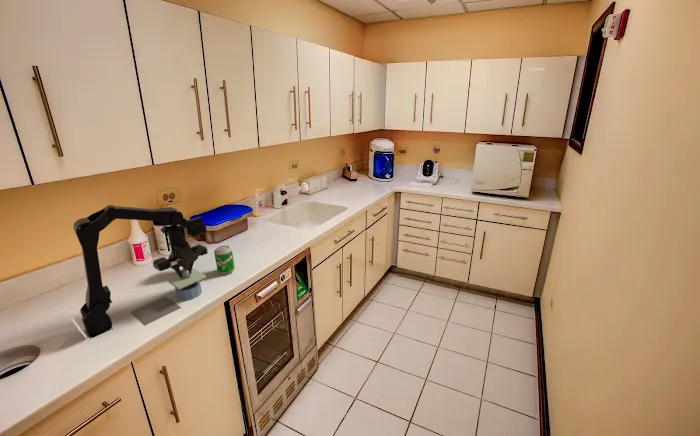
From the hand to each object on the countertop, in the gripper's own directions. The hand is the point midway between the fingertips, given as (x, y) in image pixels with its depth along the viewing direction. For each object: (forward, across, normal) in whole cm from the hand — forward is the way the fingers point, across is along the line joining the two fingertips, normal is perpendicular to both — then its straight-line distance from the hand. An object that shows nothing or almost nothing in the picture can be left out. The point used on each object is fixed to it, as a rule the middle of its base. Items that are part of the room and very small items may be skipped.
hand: (185, 276), depth 129 cm
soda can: (+9, +20, +5) cm, 23 cm away
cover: (+1, 0, 0) cm, 1 cm away
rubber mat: (+9, -13, 0) cm, 16 cm away
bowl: (+9, 0, 0) cm, 9 cm away
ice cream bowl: (+9, +8, +19) cm, 23 cm away
